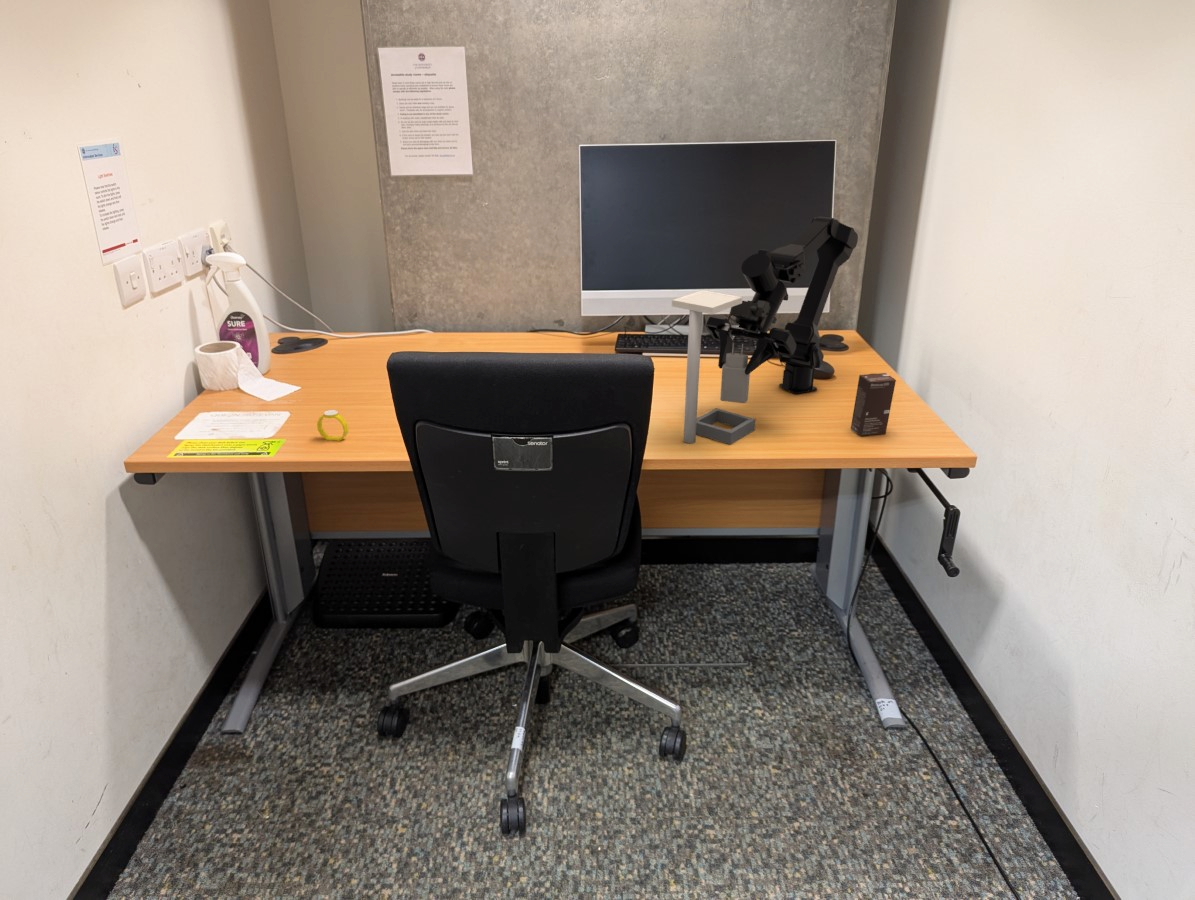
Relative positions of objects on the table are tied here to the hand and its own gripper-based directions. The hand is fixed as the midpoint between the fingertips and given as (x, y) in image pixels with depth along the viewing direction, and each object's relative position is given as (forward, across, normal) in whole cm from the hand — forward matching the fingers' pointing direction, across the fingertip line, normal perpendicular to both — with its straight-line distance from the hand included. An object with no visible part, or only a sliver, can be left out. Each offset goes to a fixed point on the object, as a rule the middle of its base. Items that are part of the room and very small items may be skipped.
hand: (732, 370), depth 162 cm
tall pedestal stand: (+12, -1, +5) cm, 14 cm away
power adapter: (+4, 0, +6) cm, 7 cm away
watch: (+48, -58, -30) cm, 81 cm away
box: (-3, +23, +21) cm, 31 cm away
